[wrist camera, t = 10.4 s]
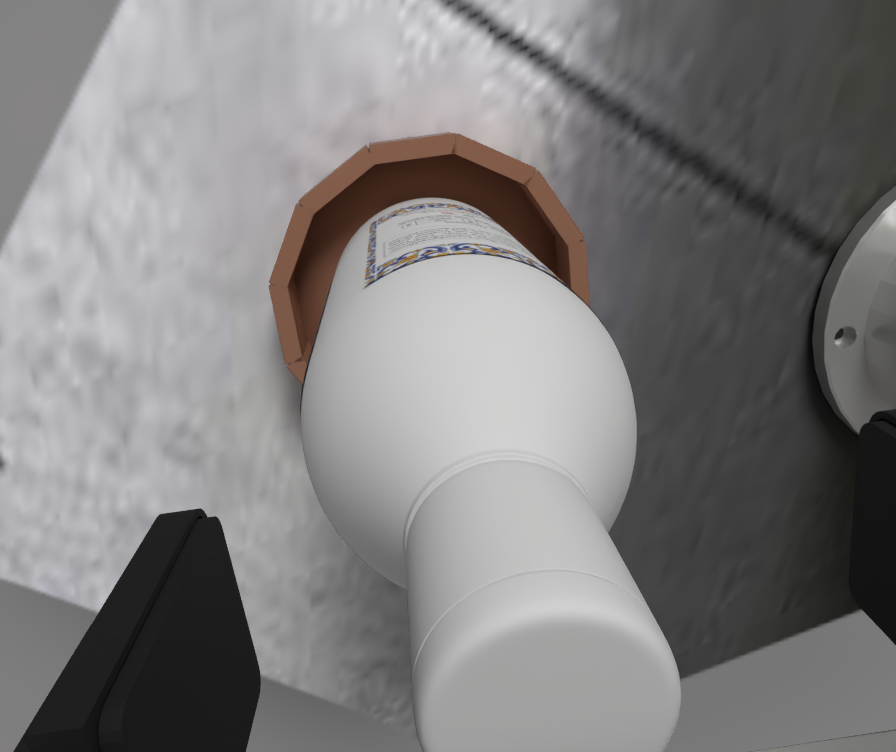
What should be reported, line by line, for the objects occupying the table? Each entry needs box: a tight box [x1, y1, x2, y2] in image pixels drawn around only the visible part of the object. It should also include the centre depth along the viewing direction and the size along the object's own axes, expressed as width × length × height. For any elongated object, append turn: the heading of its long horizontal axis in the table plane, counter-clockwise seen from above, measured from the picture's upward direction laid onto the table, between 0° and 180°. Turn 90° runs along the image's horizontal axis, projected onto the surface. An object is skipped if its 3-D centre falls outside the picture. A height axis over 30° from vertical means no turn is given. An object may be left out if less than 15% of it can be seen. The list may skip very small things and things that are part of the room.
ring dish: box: [269, 132, 590, 384], centre depth 26 cm, size 11×11×3 cm
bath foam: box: [300, 197, 681, 752], centre depth 17 cm, size 7×7×20 cm
